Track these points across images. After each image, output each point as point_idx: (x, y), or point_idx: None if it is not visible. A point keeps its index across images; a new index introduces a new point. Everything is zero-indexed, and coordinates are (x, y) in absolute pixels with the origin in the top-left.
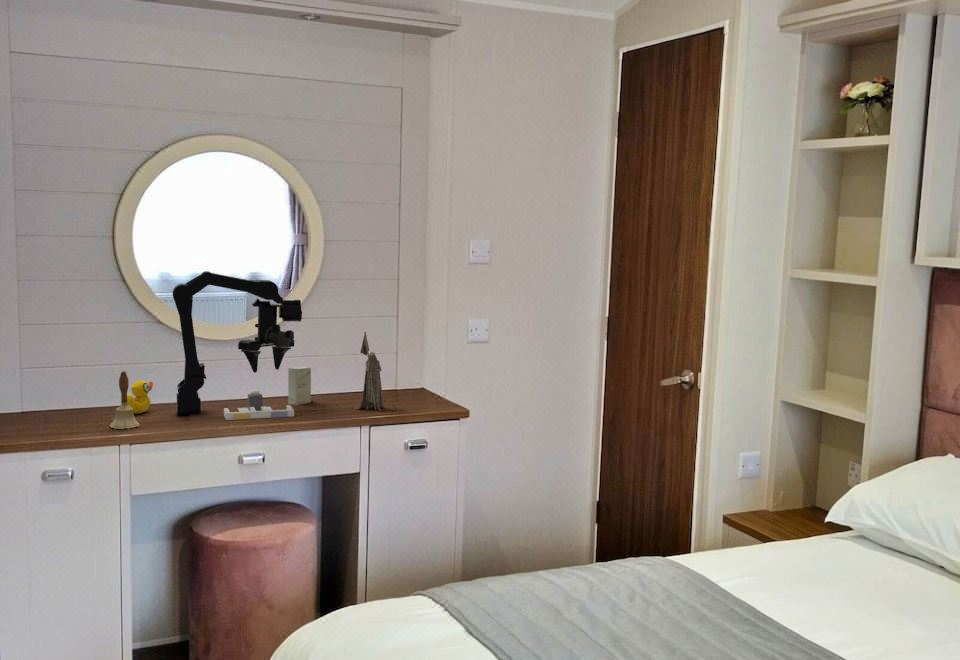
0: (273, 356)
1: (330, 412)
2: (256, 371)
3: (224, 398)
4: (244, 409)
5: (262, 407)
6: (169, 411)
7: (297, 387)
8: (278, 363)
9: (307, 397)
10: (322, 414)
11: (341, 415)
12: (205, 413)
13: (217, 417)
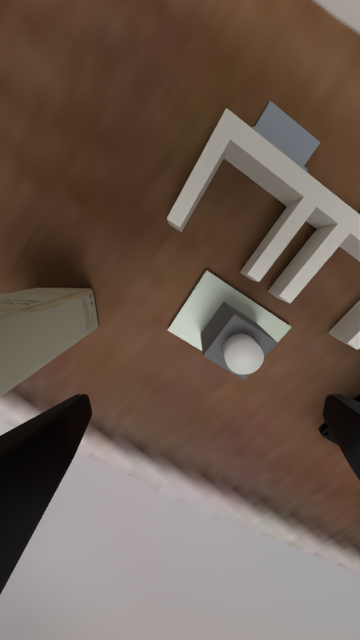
0: (2, 586)
1: (53, 110)
2: (339, 397)
3: (167, 481)
4: None
5: (269, 263)
6: None
7: (44, 301)
8: (46, 431)
9: (31, 291)
10: (98, 101)
11: (47, 4)
12: None
13: None
